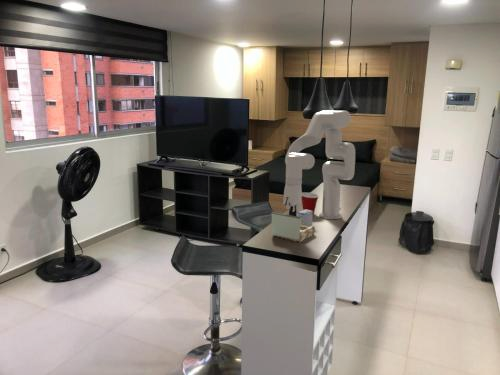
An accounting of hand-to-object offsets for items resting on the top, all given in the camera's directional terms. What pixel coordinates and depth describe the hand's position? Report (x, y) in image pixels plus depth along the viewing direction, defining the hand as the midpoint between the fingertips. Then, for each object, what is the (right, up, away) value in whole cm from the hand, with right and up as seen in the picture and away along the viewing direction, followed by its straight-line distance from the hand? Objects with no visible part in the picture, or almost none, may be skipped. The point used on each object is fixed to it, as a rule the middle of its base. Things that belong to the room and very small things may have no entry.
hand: (292, 218), depth 196 cm
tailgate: (-3, -8, -3) cm, 9 cm away
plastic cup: (+14, -1, +41) cm, 43 cm away
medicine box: (+8, -6, +16) cm, 19 cm away
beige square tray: (+1, -8, +3) cm, 9 cm away
